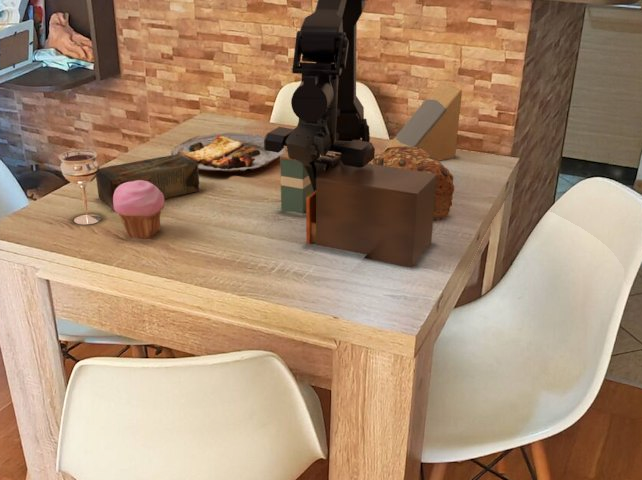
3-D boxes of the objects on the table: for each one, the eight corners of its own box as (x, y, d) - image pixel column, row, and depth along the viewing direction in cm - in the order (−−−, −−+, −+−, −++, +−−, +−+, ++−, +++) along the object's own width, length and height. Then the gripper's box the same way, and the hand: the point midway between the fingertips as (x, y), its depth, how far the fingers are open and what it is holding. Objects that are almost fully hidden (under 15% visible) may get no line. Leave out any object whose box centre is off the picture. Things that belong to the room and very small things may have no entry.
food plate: (237, 186, 168) (236, 169, 166) (150, 166, 178) (148, 150, 176) (302, 154, 186) (302, 138, 184) (220, 137, 196) (219, 122, 194)
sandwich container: (377, 156, 185) (380, 87, 176) (434, 147, 190) (440, 80, 182) (397, 167, 178) (401, 96, 170) (455, 157, 184) (462, 88, 176)
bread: (452, 219, 153) (457, 167, 148) (398, 224, 151) (401, 171, 146) (418, 186, 169) (422, 137, 163) (369, 190, 166) (371, 141, 161)
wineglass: (67, 215, 154) (56, 152, 148) (103, 210, 156) (94, 148, 150) (71, 228, 149) (60, 163, 143) (108, 223, 151) (99, 159, 145)
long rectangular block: (280, 213, 156) (279, 156, 150) (292, 204, 160) (292, 148, 154) (303, 217, 154) (303, 159, 148) (314, 208, 158) (314, 151, 152)
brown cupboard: (315, 249, 142) (316, 177, 135) (339, 227, 150) (341, 159, 143) (411, 267, 136) (417, 193, 129) (431, 244, 144) (437, 173, 137)
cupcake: (152, 248, 142) (146, 193, 136) (108, 242, 144) (100, 187, 139) (175, 229, 149) (170, 176, 143) (133, 223, 151) (126, 170, 146)
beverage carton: (202, 191, 165) (199, 159, 161) (113, 212, 156) (108, 178, 152) (183, 180, 171) (180, 149, 167) (96, 200, 161) (91, 167, 158)
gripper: (247, 108, 134) (249, 199, 143) (352, 125, 127) (347, 220, 136) (278, 92, 142) (278, 179, 151) (378, 108, 136) (372, 198, 145)
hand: (317, 194), depth 145 cm, fingers closed
